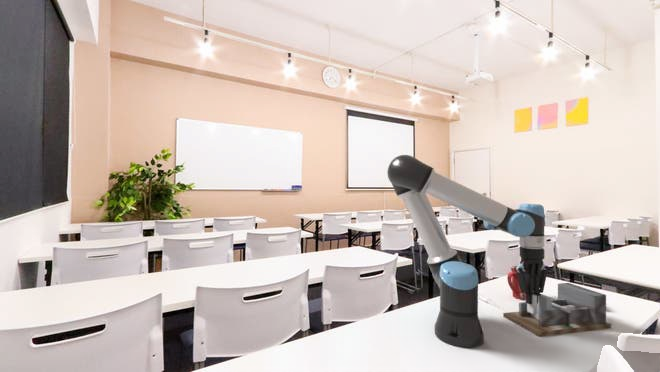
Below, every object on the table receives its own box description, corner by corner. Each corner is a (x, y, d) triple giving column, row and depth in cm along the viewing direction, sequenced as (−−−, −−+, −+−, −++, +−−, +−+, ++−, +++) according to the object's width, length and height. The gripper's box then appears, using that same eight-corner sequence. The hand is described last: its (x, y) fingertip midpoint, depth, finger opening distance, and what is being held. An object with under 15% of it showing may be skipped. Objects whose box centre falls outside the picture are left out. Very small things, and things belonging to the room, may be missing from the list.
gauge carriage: (556, 328, 105) (556, 302, 105) (530, 315, 116) (530, 291, 116) (577, 326, 107) (577, 300, 107) (549, 314, 118) (549, 290, 117)
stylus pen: (475, 298, 138) (475, 294, 138) (480, 297, 139) (480, 293, 139) (502, 313, 124) (503, 308, 124) (508, 312, 125) (508, 307, 125)
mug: (520, 293, 145) (520, 264, 145) (539, 299, 136) (539, 269, 136) (499, 296, 141) (499, 266, 141) (516, 303, 133) (517, 271, 133)
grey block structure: (539, 336, 103) (539, 302, 103) (503, 316, 119) (503, 286, 119) (611, 328, 109) (611, 295, 109) (567, 310, 125) (567, 281, 125)
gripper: (524, 249, 107) (525, 318, 107) (556, 248, 109) (556, 315, 109) (508, 245, 114) (508, 310, 114) (538, 244, 117) (538, 307, 117)
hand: (531, 312), depth 112 cm, fingers closed
